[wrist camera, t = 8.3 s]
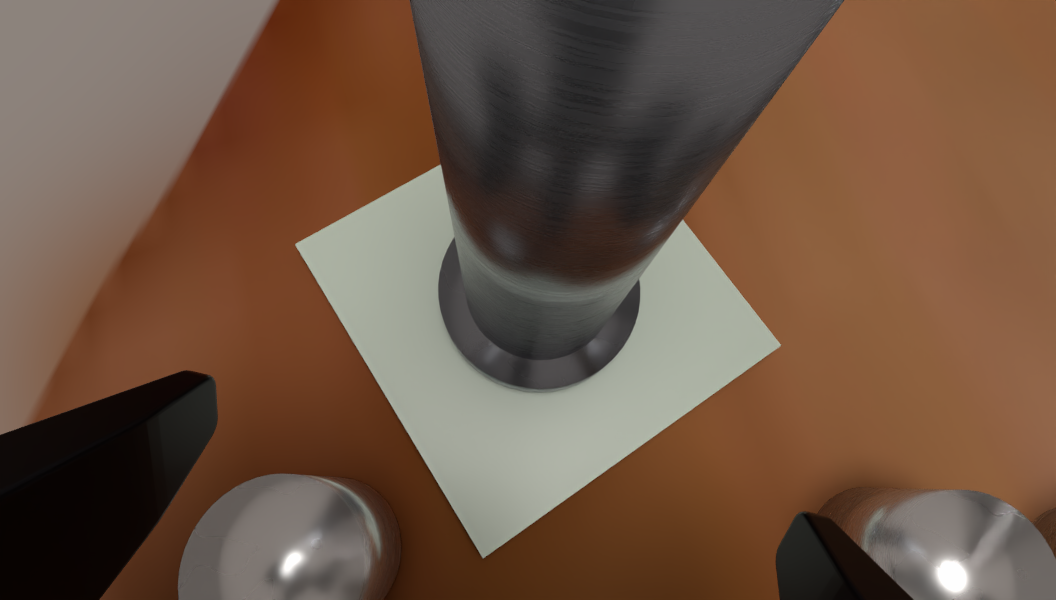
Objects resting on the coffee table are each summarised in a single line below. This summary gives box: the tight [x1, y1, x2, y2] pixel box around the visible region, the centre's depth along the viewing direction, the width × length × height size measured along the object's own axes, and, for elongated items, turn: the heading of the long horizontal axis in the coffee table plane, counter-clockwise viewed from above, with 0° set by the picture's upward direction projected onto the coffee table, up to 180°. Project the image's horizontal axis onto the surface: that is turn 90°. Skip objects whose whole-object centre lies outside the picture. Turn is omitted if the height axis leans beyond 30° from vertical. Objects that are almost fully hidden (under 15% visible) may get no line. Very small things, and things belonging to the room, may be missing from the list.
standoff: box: [410, 0, 844, 393], centre depth 12 cm, size 6×6×14 cm
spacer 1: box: [178, 474, 401, 600], centre depth 15 cm, size 4×4×4 cm
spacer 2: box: [818, 488, 1056, 600], centre depth 16 cm, size 4×4×4 cm
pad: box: [295, 165, 781, 558], centre depth 19 cm, size 11×11×1 cm
